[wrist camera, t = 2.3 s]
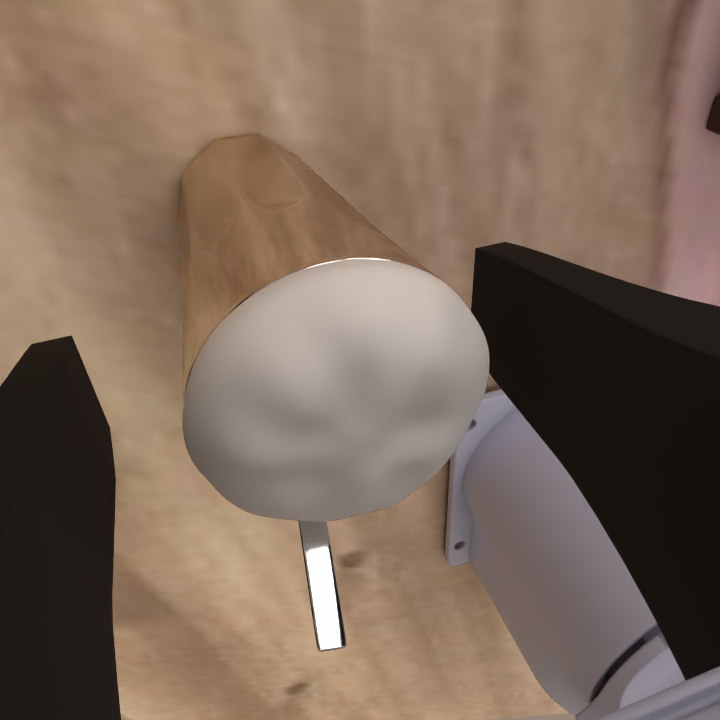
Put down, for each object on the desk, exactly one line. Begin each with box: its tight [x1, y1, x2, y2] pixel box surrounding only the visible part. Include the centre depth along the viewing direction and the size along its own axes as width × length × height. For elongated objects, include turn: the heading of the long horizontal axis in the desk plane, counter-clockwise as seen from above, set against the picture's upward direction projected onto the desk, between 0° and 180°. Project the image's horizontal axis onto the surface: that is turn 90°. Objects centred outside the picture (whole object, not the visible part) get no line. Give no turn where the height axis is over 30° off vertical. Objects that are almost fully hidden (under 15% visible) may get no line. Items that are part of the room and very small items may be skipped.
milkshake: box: [178, 134, 489, 652], centre depth 12 cm, size 5×5×10 cm
